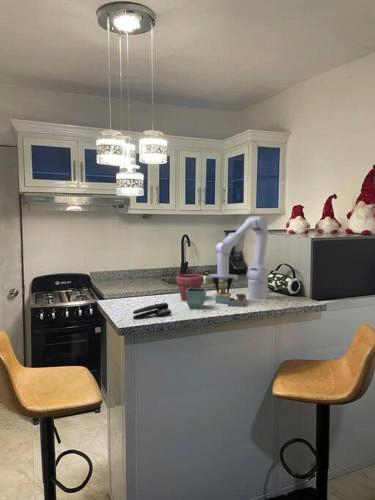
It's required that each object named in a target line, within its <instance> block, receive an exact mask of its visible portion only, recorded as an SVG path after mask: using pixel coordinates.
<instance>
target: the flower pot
mask: <svg viewBox="0 0 375 500" xmlns="http://www.w3.org/2000/svg"><path fill="white" fill-rule="evenodd" d="M185 292H186V300H187V301H186V303H187V306H188V308H189V309H191V310H193V309H202V307H203V305H204V303H205V301H206V296H207V288H202V287H201V288H188V289H187V290H186V291H185Z"/></svg>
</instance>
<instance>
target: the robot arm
mask: <svg viewBox="0 0 375 500" xmlns="http://www.w3.org/2000/svg"><path fill="white" fill-rule="evenodd" d="M268 224H269V221H268V219H267V218H266V217H265V216H263V215H261V216H257V215H255V216H253V215H252V216H251V215H250V216H248V218H246V219H245V221H244V222H243V224H242V225H240V227H239V228H238V229H237V230H236V231H235V232H229V233H228V234H227V235H228V236H227V237H225V238H223V239H222V242H218V243H217V244H216V246H215V247H214V250H215V252H216V256H217V273H216V274H215V273H213V274H212V273H211V274H210V273H209V274H208V279H210V280H211V279H212V280H213V283H214V285H215V288H216V293H219V292H220V290H219V289H220V288H219V287H220V286H219V285H220V284H219V281H220V279H221V280H222V279H225V280H226V279H227V290H226V292H227V293H230V288H231V284H232V282H233V281H234V280H238V274H230V273H229V271H230V266H229V265H230V260H229V259H230V253H231V252H232V250H233V247H235V246H236V245H237V244H238V243H239V242H240V238H241V237H242V236H244V235H245V234H246V233H247V232H248V231H249V230H252V231H253V232H255V234H256V240H255V249H254V254H253V261H252V264H251V265H249V266H250V267H249V271H248V270H247V273H246V277H247V280H248V279H249V281H250V291H249V296H248V299H249V300H268V296H269V292H268V293H267V283H266V282H264V281H265V280H266V278H267V274H266V268H265V267H266V266H265V265H264V261H265V255H266V247H267V242H268V235H269V229H268ZM257 269H258V270H257Z"/></svg>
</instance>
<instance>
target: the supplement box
mask: <svg viewBox="0 0 375 500" xmlns="http://www.w3.org/2000/svg"><path fill="white" fill-rule="evenodd" d="M250 266H251V265H248V267H247V268H248V270H247V272H248V271H249V267H250ZM264 267H265V268H266V274H267V278H266V280H265V281H264V282H266V283H267V293H268V294H269V288H268V287H269V267H267V266H264ZM257 270H258V269H257ZM247 282H248V283H247V285H248V286H247V287H248V288H247V290H248V291H247V292H250V281H249V279H248V278H247Z"/></svg>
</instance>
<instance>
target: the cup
mask: <svg viewBox="0 0 375 500" xmlns="http://www.w3.org/2000/svg"><path fill="white" fill-rule="evenodd" d="M230 298H231V296H229V297H218V296H215V304H222V305H223V304H226V305H228V299H230Z"/></svg>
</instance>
